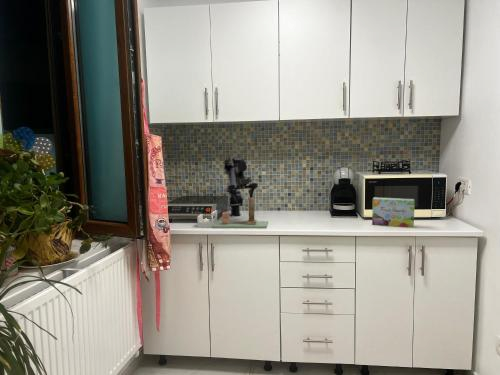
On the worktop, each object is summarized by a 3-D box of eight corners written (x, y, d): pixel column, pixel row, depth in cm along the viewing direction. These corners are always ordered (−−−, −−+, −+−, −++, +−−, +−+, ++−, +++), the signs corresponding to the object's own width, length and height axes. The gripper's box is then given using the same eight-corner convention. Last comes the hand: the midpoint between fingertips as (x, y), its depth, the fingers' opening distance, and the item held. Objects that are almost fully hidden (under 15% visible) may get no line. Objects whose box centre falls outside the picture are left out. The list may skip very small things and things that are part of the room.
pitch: (203, 222, 217) (202, 209, 216) (268, 222, 213) (267, 209, 212) (197, 227, 203) (196, 213, 203) (266, 228, 199) (266, 213, 198)
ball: (203, 217, 212) (209, 217, 211) (203, 224, 212) (210, 224, 212) (201, 219, 208) (208, 218, 207) (202, 226, 208) (208, 225, 208)
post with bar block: (223, 222, 211) (222, 197, 210) (256, 222, 209) (256, 197, 207) (221, 223, 206) (220, 198, 205) (255, 224, 204) (255, 198, 202)
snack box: (371, 225, 201) (372, 198, 200) (372, 223, 207) (373, 196, 205) (413, 228, 193) (414, 199, 191) (413, 225, 198) (414, 198, 196)
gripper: (228, 173, 211) (233, 199, 207) (258, 171, 218) (263, 195, 214) (223, 179, 221) (228, 204, 217) (252, 177, 228) (256, 200, 224)
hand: (244, 201), depth 218 cm, fingers open, 9 cm apart
